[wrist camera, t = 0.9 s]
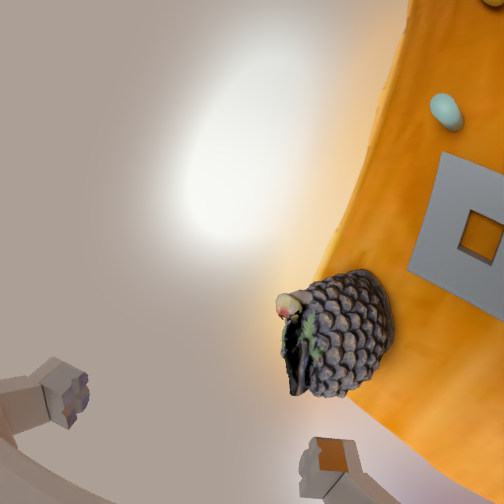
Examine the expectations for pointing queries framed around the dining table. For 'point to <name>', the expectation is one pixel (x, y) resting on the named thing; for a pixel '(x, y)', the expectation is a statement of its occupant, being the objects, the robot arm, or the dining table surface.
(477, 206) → the cutout board
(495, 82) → the dining table surface
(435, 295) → the dining table surface
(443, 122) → the peg
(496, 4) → the lemon
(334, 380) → the decorative house
